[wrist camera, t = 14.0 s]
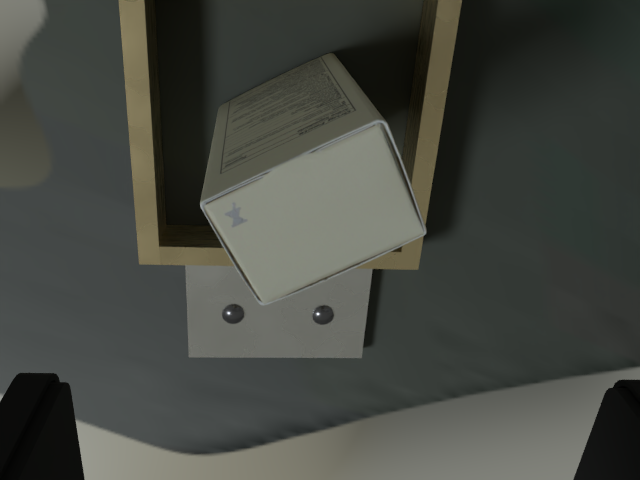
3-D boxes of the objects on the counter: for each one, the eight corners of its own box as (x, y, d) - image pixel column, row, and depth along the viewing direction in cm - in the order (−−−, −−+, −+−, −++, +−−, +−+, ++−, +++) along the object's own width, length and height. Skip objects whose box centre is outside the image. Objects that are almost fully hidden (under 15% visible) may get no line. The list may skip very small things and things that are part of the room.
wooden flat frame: (479, -225, 24) (501, -241, 21) (392, 349, 36) (400, 376, 34) (113, -264, 22) (96, -286, 20) (155, 348, 35) (147, 376, 33)
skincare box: (256, 180, 31) (252, 316, 20) (216, 103, 29) (185, 207, 18) (373, 128, 30) (434, 239, 19) (339, 45, 28) (386, 116, 17)
